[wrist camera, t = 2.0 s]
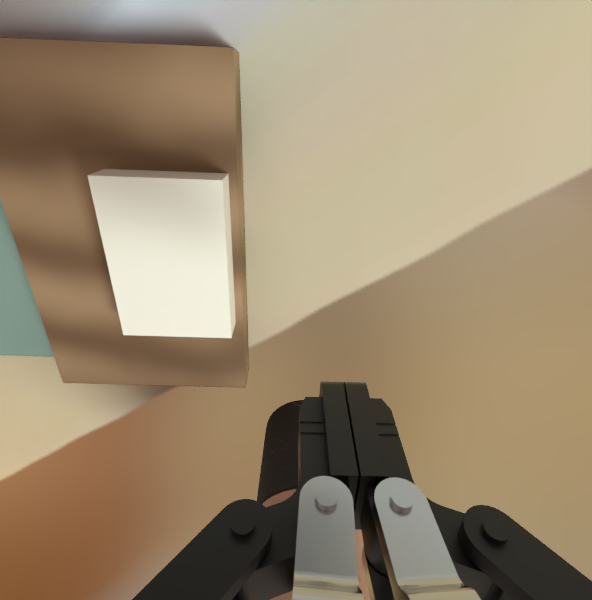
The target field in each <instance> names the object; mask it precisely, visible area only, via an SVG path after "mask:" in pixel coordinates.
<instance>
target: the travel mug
mask: <svg viewBox="0 0 592 600" xmlns="http://www.w3.org/2000/svg"><path fill="white" fill-rule="evenodd" d="M303 401H304V400H299V401H293V402H290V403H287V404H285V405H283V406H281V407H279V408H278V409H277V410H276V411H274V412H273V414H272V415H271V416H270V418H269V420H268V423H267V428H266V435H265V441H264V449H263V457H262V465H261V474H260V481H259V489H258V496H257V502H259V503H261V504H262V505H263V506H265V507H268V506H271V505H274V504H277V503H280V502H283V501H285V500H286V499H288V498H289V497H290V496H292V495H293V493H294V492H295V491H296V489H297V488H298V431H299V412H300V407H301V405H302V403H303ZM355 536H356V551H357V567H358V581H359V588H360V590H362V593H363V599H364V600H370V596H369V591H368V586H367V582H366V577H365V572H364V568H363V563H362V550H363V545H364V543H363V537H362V530H355ZM292 595H293V590H292V591H290V592H287V593H285V594H282V595H280V596H278V597H275V598H273V599H270V600H292Z"/></svg>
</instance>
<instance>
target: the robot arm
mask: <svg viewBox="0 0 592 600" xmlns="http://www.w3.org/2000/svg"><path fill="white" fill-rule="evenodd" d="M355 530H362V537H363V543H364V545H363V550H362V563H363V568H364V572H365V577H366V582H367V586H368V591H369V596H370V600H592V581H591V580H589V579H588V578H587V577H585V576H584V575H583V574H581V573H580V572H579V571H578V570H576V569H575V568H574V567H573V566H571V565H570V564H569V563H567V562H566V561H565V560H564V559H562V558H561V557H560V556H559V555H557V554H556V553H555V552H553V551H552V550H551V549H550V548H548V547H547V546H546V545H545V544H543V543H542V542H541V541H539V540H538V539H537V538H535V537H534V536H533V535H532V534H530V533H529V532H528V531H527V530H525V529H524V528H523V527H521V526H520V525H519V524H518V523H516V522H515V521H514V520H513V519H511V518H510V517H509V516H507V515H506V514H505V513H503V512H501V511H500V510H498V509H496V508H493V507H490V506H484V505H477V506H473V507H471V508H470V509H468V510H467V512H466V513H461V512H458V511H455V510H452V509H449V508H446V507H443V506H441V505H438V504H436V503H434V502H432V501H430V500H429V499H428V498H427V497H425V495H424V493H423V492H422V491H421V490H420V489H419V488H418V487H417V486H416V485H415V484H414V482H413V479H412V477H411V473H410V470H409V466H408V463H407V460H406V457H405V453H404V450H403V447H402V444H401V441H400V438H399V435H398V431H397V427H396V426H395V421H394V418H393V415H392V411H391V410H390V408H389V407H388V406H387V405H386V404H385V402H384V401H383V400H382V399H372V398H370V397H369V393H368V389H367V386H366V383H358V382H344V383H343V382H321V384H320V395H319V397H306V398H305V399H304V401H303V403H302V405H301V407H300V412H299V431H298V488H297V489H296V491H295V492H294V493H293V495H292V496H290V497H289V498H288V499H286V500H285V501H283V502H280V503H277V504H274V505H271V506H268V507H265V506H263V505H262V504H261V503H259V502H257V501H255V500H250V499H242V500H237V501H235V502H233V503H231V504H229V505H227V506H226V507H225V508H224V509H223V510H222V511H221V512H220V513H219V514H218V515H217V516H216V517H215V518H214V519H213V520H212V521H211V522H210V523H209V524H208V525H207V526H206V527H205V528H204V529H203V530H202V531H201V532H200V533H199V534H198V535H197V536H196V537H195V538H194V539H193V540H192V541H191V542H190V543H189V544H188V545H187V546H186V547H185V548H184V549H183V550H182V551H181V552H180V553H179V554H178V555H177V556H176V557H175V558H174V559H173V560H172V561H171V562H170V563H169V564H168V565H167V566H166V567H165V568H164V569H163V570H162V571H161V572H159V573H158V574H157V575H156V576H155V578H154V579H152V580H151V581H150V583H149V584H148V585H146V586H145V587H144V588H143V589H142V590H141V592H139V593H138V594H137V595H136V596H135V597H134V598H133V599H132V600H270V599H273V598H275V597H278V596H280V595H282V594H285V593H287V592H290V591H292V590H293V595H292V600H364V599H363V593H362V590H360V588H359V581H358V567H357V551H356V536H355Z"/></svg>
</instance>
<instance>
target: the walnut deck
mask: <svg viewBox="0 0 592 600" xmlns="http://www.w3.org/2000/svg"><path fill="white" fill-rule="evenodd" d="M103 169H123V170H151V171H178V172H206V173H228V177H229V197H230V217H231V237H232V257H233V277H234V297H235V317H236V323H235V327H234V330H233V334H232V338H205V337H171V336H136V335H123V331H122V327H121V323H120V318H119V314H118V309H117V305H116V300H115V296H114V291H113V287H112V283H111V278H110V274H109V269H108V265H107V260H106V256H105V251H104V247H103V243H102V238H101V234H100V229H99V225H98V220H97V216H96V211H95V207H94V203H93V198H92V194H91V189H90V185H89V180H88V176H87V175H90V174H93V173H95V172H98V171H100V170H103ZM0 200H1V203H2V205H3V208H4V211H5V214H6V217H7V220H8V223H9V226H10V229H11V232H12V235H13V237H14V240H15V243H16V246H17V249H18V252H19V255H20V258H21V261H22V264H23V267H24V270H25V272H26V275H27V278H28V281H29V284H30V287H31V290H32V293H33V296H34V299H35V302H36V304H37V307H38V310H39V313H40V316H41V319H42V322H43V325H44V328H45V331H46V334H47V337H48V339H49V342H50V345H51V348H52V351H53V354H54V357H55V360H56V363H57V366H58V369H59V371H60V374H61V377H62V380H63V383H91V384H128V385H166V386H204V387H242V388H245V387H246V381H247V375H248V370H249V351H248V320H247V289H246V258H245V226H244V195H243V164H242V132H241V101H240V70H239V52H238V51H236V50H235V49H234V48H232V47H211V46H188V45H164V44H141V43H117V42H93V41H70V40H46V39H22V38H0Z"/></svg>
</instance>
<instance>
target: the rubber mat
mask: <svg viewBox="0 0 592 600" xmlns="http://www.w3.org/2000/svg"><path fill="white" fill-rule="evenodd" d="M0 355H12V356H48V357H54V354H53V351H52V348H51V345H50V342H49V339H48V337H47V334H46V331H45V328H44V325H43V322H42V319H41V316H40V313H39V310H38V307H37V304H36V302H35V299H34V296H33V293H32V290H31V287H30V284H29V281H28V278H27V275H26V272H25V270H24V267H23V264H22V261H21V258H20V255H19V252H18V249H17V246H16V243H15V240H14V237H13V235H12V232H11V229H10V226H9V223H8V220H7V217H6V214H5V211H4V208H3V205H2V203H1V200H0Z"/></svg>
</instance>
